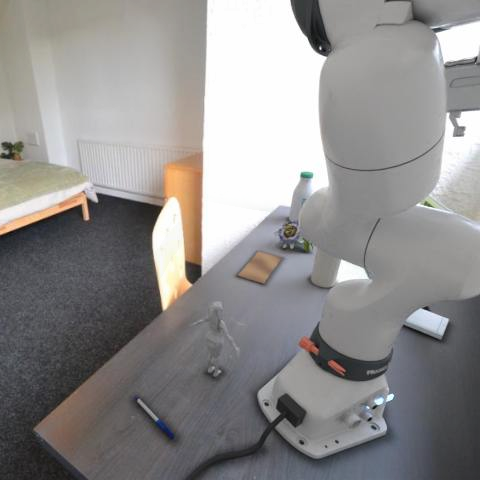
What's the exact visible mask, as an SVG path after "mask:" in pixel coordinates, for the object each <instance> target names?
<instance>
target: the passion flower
mask: <svg viewBox="0 0 480 480" xmlns="http://www.w3.org/2000/svg"><path fill="white" fill-rule="evenodd" d="M273 235H274V236H277V237H278V238H279V239H280V240H279V244H281V245H282V244H283V245H282V249H286V248H288V246H289V248H290V249H291V250H293V249H294V248H295V247H296V244H297V243H299V244H302V245H303V247H304V251H305V252H306V253H309V252H310V251H311V249H312V250H314V247H315V246H314V245H312V244H311V243H310V242H308V241H307V240H305V239H304V238H303V237H302V236H301V233H300V230H299V219H298V220H297V221H291V220H289V219H288V220H286V222H285V223H283V224H282V227H281V228H279V229H278V231H275V232H273Z"/></svg>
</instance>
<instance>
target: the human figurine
mask: <svg viewBox="0 0 480 480" xmlns="http://www.w3.org/2000/svg"><path fill="white" fill-rule="evenodd" d="M223 310H224V304H223V302H221V301H220V300H219V301H212V302H210V304H209V305H208V309H207V311H208V314H207V316H205V317H204V318H203V319H198V321H195V322H193V323H192V324H190V325H189V328H192V327H193V326H195V325H201V324H203V323H207V322H208V328H209V330H208V331H207V332H206V333H205V338H204V339H205V343H206V348H207V352H208V355H207V364H208V368H207V373H208V374H209V373H210V374H212V373H213V377H215V378H216V377H218V376H219V374H221V373H222V370H220V369H219V364H220V359H221V354H222V351H223V349H224V347H225V343H226V340H225V338H224V336H223V334H224V335H225V336H226V339H227V341H228V342H229V344H230V345H231V346H232V347H233V349H234V351H235V353H236V358H241V357H242V355H243V354H242V353H241V352H240V351H241V348H240V347H238V346H237V345H236V343H235V340H234V338H233V337H232V336H231V335H230V334H229V331H228V329H227V327H226V322H225V321H224V320H223ZM222 333H223V334H222ZM212 359H213V361H212ZM212 363H213V366H212Z"/></svg>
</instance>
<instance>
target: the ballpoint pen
mask: <svg viewBox="0 0 480 480" xmlns="http://www.w3.org/2000/svg"><path fill="white" fill-rule="evenodd" d="M134 399H135V401H136V402H137V404H138V405H140V406H141V408H142V409H143V410H145V412H146V413H147V414H148V415H149V416H150V417H151V418H152V420H154V422H156V424H157V425H158V426H159V427H160V428H161V430H162V431H163V432H165V434H166V435H167V436H168V437H170V438H171V439H175V435H174V433H173V432H172V431H171V430H170V429H169V428H168V427H167V426H166V425H165V424H164V422H163V421H162V419H159V417H157V415H156V414H154V413H153V411H152V410H151V409H150V408H149V407H148V406H147V405H146V404H145V403H144V402H143V401H142V400H141V399H140V398H139V397H137V396H134Z"/></svg>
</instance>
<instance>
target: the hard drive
mask: <svg viewBox="0 0 480 480" xmlns="http://www.w3.org/2000/svg"><path fill="white" fill-rule="evenodd" d="M449 322H450V319H449V318H447V317H444V316H442V315H439V314H436V313H434V312H431V311H429V310H426V309H424V308H421V309H419V310H417V311H416V312H414V313H413V314H412V315H411V316H410V317H409V318H408V319H407V320H406V321H405V323H404V324H403V326H405V327H408V328H411V329H413V330H416V331H418V332H421V333H423V334H424V335H425V334H426V335H428V336H430V337H433V338H435V339H438V340H442V338H443V336H444V334H445V331H446V329H447V326H448V324H449Z"/></svg>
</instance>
